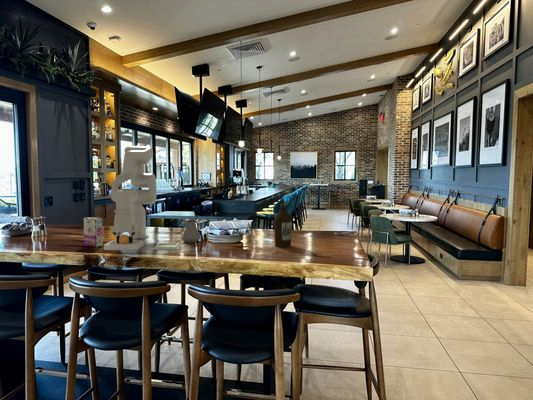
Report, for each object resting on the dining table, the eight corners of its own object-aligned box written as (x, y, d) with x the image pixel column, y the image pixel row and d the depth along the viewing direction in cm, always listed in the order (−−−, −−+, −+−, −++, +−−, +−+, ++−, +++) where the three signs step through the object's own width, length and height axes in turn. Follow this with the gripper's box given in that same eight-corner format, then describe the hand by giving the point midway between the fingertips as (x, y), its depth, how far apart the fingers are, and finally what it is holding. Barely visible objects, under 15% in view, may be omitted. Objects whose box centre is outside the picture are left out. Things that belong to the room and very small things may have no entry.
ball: (121, 243, 200) (120, 233, 200) (131, 243, 201) (131, 233, 200) (117, 246, 194) (117, 235, 194) (128, 246, 195) (128, 235, 194)
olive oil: (270, 245, 205) (270, 203, 203) (284, 243, 211) (285, 202, 209) (280, 248, 196) (281, 204, 194) (295, 246, 202) (296, 204, 200)
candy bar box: (103, 245, 202) (103, 218, 201) (96, 247, 198) (95, 219, 197) (91, 243, 207) (90, 216, 206) (83, 245, 203) (82, 217, 202)
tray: (157, 245, 205) (157, 242, 204) (181, 244, 206) (181, 242, 205) (151, 249, 192) (151, 247, 192) (177, 249, 193) (177, 247, 193)
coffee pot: (197, 243, 209) (197, 219, 208) (179, 243, 210) (178, 218, 209) (206, 237, 230) (206, 215, 229) (189, 237, 231) (189, 214, 230)
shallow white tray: (112, 245, 202) (112, 240, 202) (143, 245, 204) (143, 240, 203) (104, 250, 190) (104, 244, 190) (137, 249, 192) (137, 244, 191)
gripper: (105, 212, 191) (106, 244, 193) (137, 212, 192) (138, 244, 194) (110, 211, 199) (111, 242, 200) (141, 211, 200) (142, 241, 202)
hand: (124, 242), depth 197 cm, fingers closed on ball, 5 cm apart
